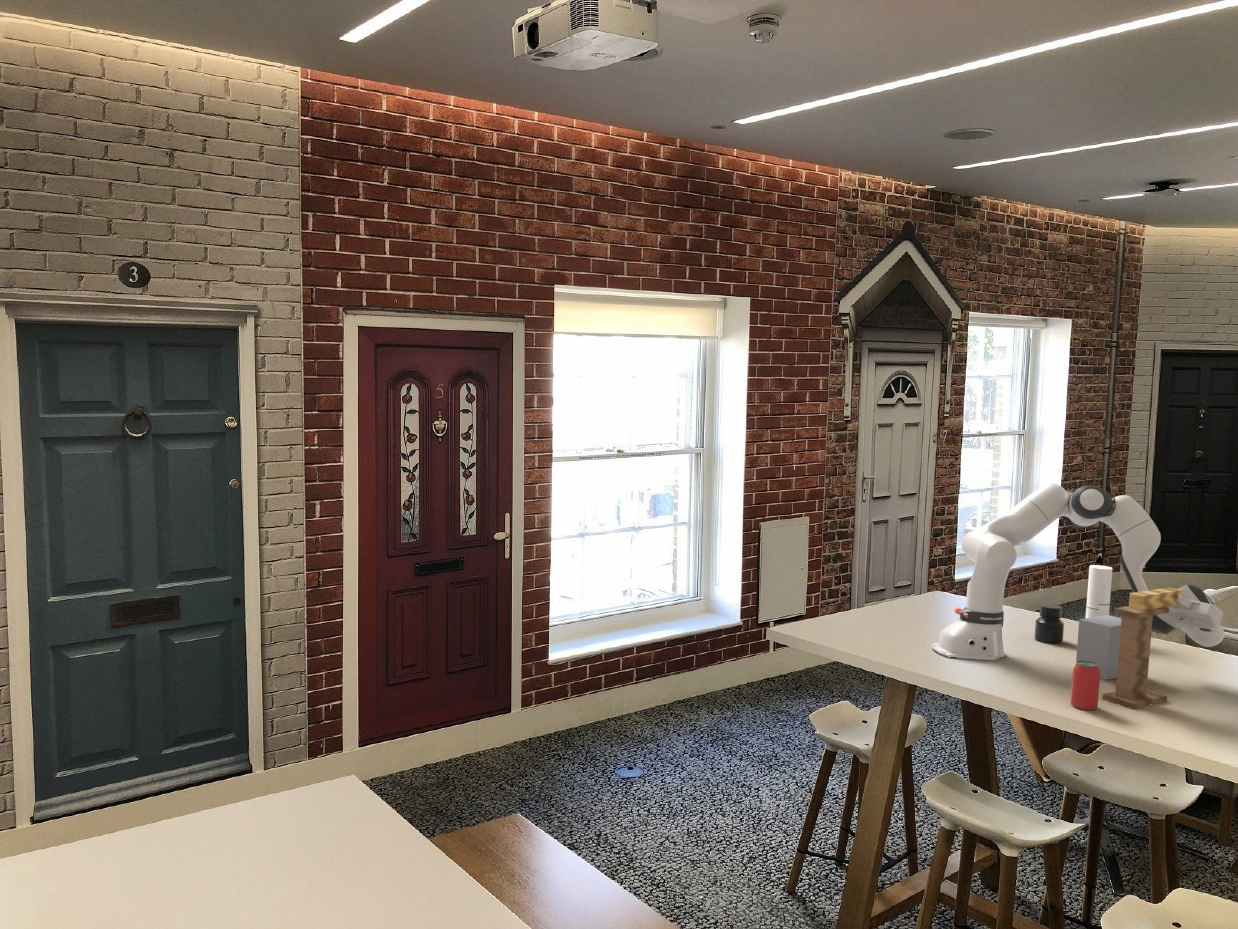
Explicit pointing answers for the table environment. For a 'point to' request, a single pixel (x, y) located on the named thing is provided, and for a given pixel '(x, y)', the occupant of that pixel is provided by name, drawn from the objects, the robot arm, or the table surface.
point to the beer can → (1085, 685)
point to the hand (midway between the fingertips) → (1167, 595)
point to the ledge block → (1100, 643)
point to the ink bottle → (1049, 624)
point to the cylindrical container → (1098, 591)
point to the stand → (1134, 659)
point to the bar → (1154, 598)
